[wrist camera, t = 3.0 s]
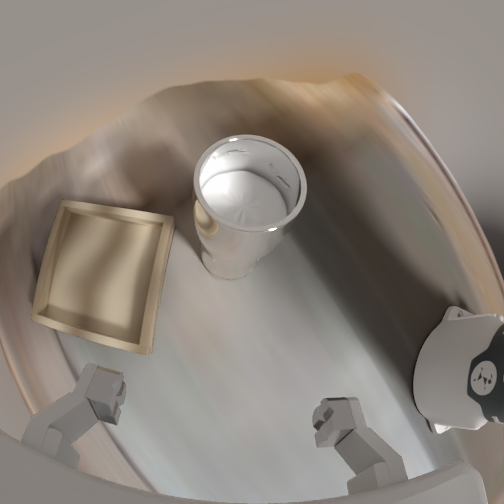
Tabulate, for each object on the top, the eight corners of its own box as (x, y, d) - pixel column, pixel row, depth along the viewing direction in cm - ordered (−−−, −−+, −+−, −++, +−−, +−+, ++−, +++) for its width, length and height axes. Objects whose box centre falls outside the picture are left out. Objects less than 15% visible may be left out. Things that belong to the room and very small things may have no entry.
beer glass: (221, 209, 31) (236, 115, 17) (274, 244, 31) (329, 172, 17) (183, 259, 29) (164, 189, 15) (238, 297, 29) (272, 262, 14)
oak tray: (175, 225, 30) (173, 216, 27) (151, 353, 26) (146, 355, 23) (70, 208, 28) (61, 199, 26) (42, 321, 24) (30, 319, 22)
